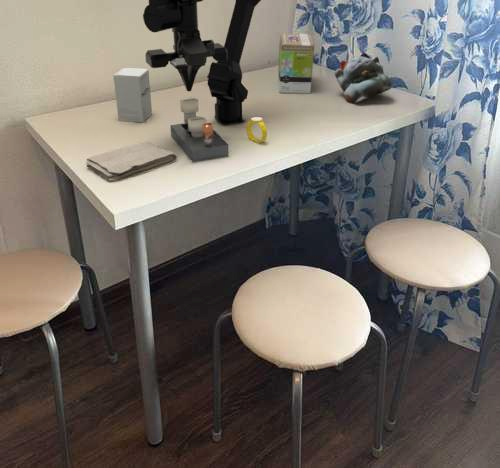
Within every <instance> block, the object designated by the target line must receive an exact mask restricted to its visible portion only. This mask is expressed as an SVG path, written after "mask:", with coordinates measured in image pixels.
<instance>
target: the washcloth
mask: <svg viewBox="0 0 500 468" xmlns="http://www.w3.org/2000/svg"><path fill="white" fill-rule="evenodd" d="M177 158H178V156H177V154H176V153H174V152H172V151H170V150H168V149H163V148H162V147H160V146H159V145H156V144H155V143H153V142H150V141H148V140H146V141H145V140H144V141H141V142H137V143H134V144H131V145H125V146H122V147H120V148H115V149H112V150H110V151H107V152H103V153H99V154H96V155H95V154H94V155H93V156H90V157H88V158H86V164H87V165H86V166H87V167H89V170H90V171H92V172H93V173H95V174H97V175H98V176H100V177H102V179H105V181H108V182H116V181H117V182H118V181H121V180H125V179H128V178H132V177H135V176H137V175H138V176H139V175H140V174H143V173H146V172H149V171H152V170H154V169H157V168H160V167H163V166H165V165H169V164H173V162H175V161H176V160H177Z"/></svg>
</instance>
